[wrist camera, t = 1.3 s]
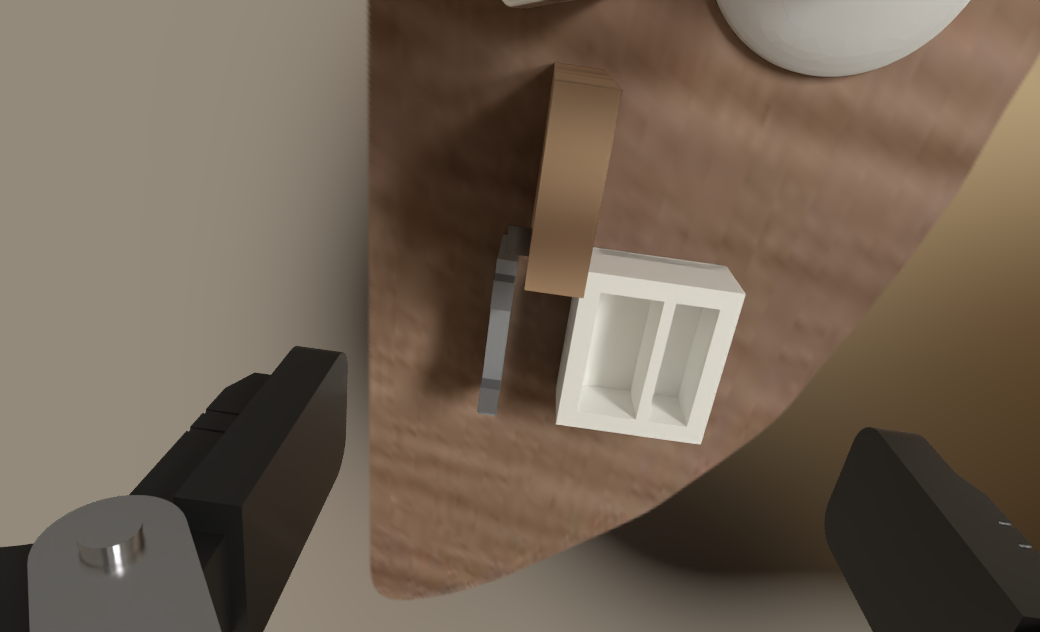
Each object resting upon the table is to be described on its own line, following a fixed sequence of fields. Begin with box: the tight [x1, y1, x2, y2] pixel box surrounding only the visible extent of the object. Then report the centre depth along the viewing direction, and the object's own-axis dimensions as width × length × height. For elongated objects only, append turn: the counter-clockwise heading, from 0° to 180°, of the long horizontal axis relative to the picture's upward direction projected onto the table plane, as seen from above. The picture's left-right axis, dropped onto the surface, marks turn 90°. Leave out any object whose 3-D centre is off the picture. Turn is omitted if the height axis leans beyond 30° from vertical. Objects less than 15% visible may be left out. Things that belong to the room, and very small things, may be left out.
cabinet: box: [477, 234, 746, 445], centre depth 36 cm, size 9×12×5 cm
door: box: [505, 63, 623, 298], centre depth 29 cm, size 8×3×10 cm, turn 172°
